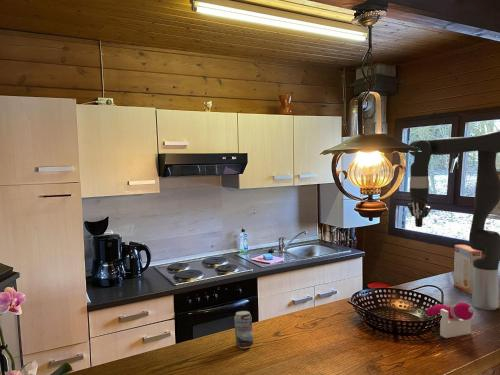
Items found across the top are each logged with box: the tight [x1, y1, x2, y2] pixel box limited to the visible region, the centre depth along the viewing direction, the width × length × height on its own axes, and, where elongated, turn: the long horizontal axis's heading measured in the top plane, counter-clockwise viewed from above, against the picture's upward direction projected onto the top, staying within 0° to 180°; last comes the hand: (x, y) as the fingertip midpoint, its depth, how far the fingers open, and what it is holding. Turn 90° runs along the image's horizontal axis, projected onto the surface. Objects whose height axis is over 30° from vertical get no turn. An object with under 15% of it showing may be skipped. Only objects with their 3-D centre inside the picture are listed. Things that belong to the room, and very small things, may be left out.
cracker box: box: [453, 244, 483, 295], centre depth 184 cm, size 14×6×21 cm, turn 179°
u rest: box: [439, 309, 472, 339], centre depth 139 cm, size 11×2×10 cm, turn 106°
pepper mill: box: [426, 301, 475, 324], centre depth 141 cm, size 7×7×20 cm
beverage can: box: [233, 310, 254, 349], centre depth 133 cm, size 6×7×12 cm
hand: (418, 226), depth 164 cm, fingers closed
